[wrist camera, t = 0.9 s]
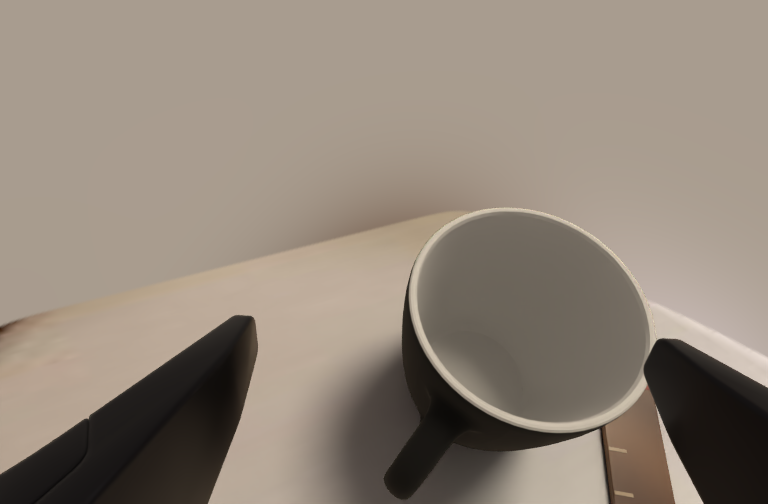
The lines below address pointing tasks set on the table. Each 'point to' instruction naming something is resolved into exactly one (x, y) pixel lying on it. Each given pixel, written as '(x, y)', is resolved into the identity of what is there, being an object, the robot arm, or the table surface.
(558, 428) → the mug
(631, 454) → the ruler
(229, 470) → the table surface
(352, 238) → the table surface
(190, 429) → the robot arm
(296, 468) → the table surface
